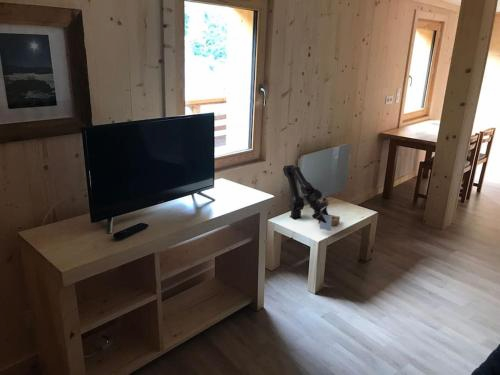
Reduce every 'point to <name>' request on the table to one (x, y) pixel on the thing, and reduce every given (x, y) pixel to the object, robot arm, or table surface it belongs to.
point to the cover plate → (326, 225)
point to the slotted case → (334, 220)
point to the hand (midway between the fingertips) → (327, 220)
